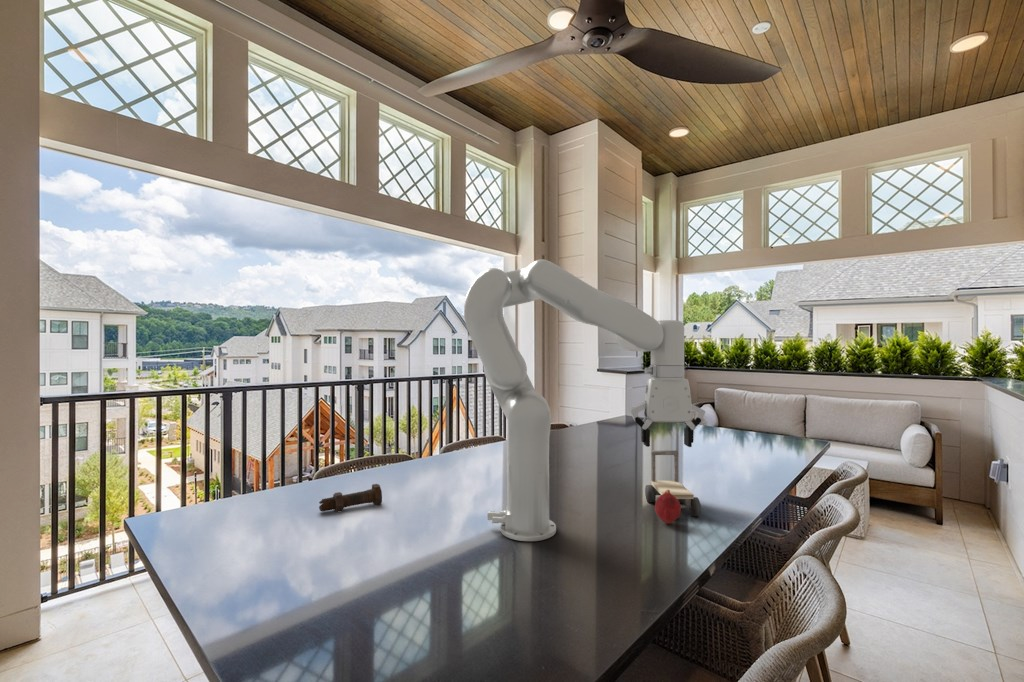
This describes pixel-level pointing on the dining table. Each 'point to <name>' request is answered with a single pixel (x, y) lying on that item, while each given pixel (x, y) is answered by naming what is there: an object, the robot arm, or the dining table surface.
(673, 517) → the onion
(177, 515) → the dining table surface
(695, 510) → the trolley
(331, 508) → the bolt
